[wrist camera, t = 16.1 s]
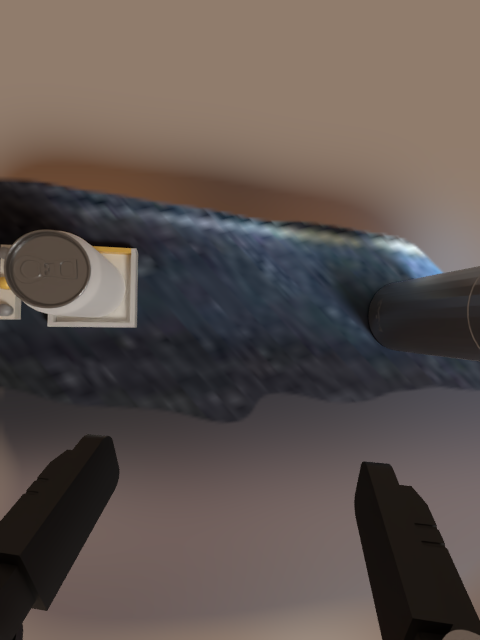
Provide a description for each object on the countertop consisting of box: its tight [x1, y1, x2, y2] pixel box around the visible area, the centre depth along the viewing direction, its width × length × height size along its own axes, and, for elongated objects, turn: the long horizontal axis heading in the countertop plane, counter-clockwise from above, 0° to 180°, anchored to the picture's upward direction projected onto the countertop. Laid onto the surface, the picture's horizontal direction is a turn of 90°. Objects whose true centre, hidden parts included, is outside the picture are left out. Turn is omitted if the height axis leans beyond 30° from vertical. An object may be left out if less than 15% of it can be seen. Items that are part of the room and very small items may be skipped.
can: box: [4, 230, 125, 317], centre depth 27 cm, size 6×6×12 cm
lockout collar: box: [48, 246, 138, 327], centre depth 33 cm, size 9×9×2 cm
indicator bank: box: [0, 245, 21, 319], centre depth 31 cm, size 1×8×2 cm, turn 0°
